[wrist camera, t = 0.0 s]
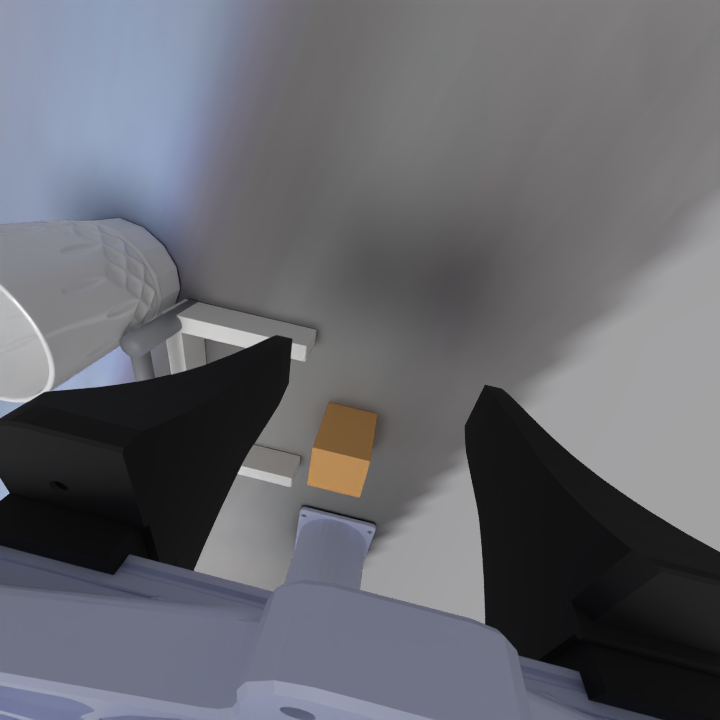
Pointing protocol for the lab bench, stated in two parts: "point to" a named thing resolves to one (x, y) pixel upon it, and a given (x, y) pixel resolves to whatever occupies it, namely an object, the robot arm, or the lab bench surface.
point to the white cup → (74, 297)
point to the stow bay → (187, 351)
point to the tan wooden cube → (342, 450)
